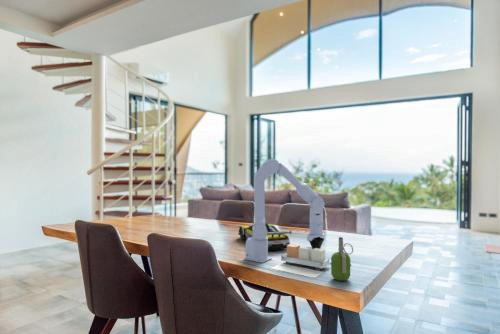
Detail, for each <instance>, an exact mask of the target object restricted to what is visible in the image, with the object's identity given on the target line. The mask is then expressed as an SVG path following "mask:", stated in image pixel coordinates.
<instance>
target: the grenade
mask: <svg viewBox="0 0 500 334" xmlns="http://www.w3.org/2000/svg"><path fill="white" fill-rule="evenodd" d="M346 245H349V246H350V247H351V252H350V253H348V252H347V251H346V249H345V246H346ZM353 253H354V247H353V246H352V244H351V243H349V242H347V243H344V237H341V236H339V237H338V251H337V252H336V251H335V252H334V253H333V254H332V255H331V258H330V260H331V261H330V262H329V265H331V266H330V267H331V268H330V270H331V271H330V274H331V277H332V278H333V279H335V280H336V281H339V282H345V281H347V280H349V279H350V277H351V267H352V264H351V258H350V255H351V254H353Z"/></svg>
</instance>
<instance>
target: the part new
mask: <svg viewBox="0 0 500 334" xmlns="http://www.w3.org/2000/svg"><path fill="white" fill-rule="evenodd" d="M300 247H301V245H298V244H291V243H290V244H289V245H288V246H287V249H286V254H287V256H289V257H294V258H299V248H300Z"/></svg>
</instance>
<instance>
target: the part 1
mask: <svg viewBox="0 0 500 334" xmlns="http://www.w3.org/2000/svg"><path fill="white" fill-rule="evenodd" d="M311 250H312V247H311V246H305V245H302V246H300V248H299V258H300V259H305V260H311Z"/></svg>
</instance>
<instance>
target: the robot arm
mask: <svg viewBox="0 0 500 334" xmlns="http://www.w3.org/2000/svg"><path fill="white" fill-rule="evenodd" d="M274 174H276V175H279V176H283V178H284V179H286V180H287V181H288V183H290V184H291V185H292V186H293V187H294V188H295V189H296V194H297V195H299V197H300V198H302V200H303V201H305V202H306V203H308V204H307V205H308V206H309V233H308V235H307V236H306V241H308V243H310V247H312V249H314V248H319V249H322V248H321V247H322V244H323V242H324V240H325V238H324V237H326V236H327V235H326V231H325V230H324V211H323V210H324V207H325V205H326V204H325V202H324V198H323V197H321V196H319V193H318V192H316V191H314V189H312V188H311V185H310V184H309V183H306V182H301V181H300V180H299V179H298V178H297V177H296V176H295V175H294V174H293V173H292V172H291V171H290V170H289V169H288V168H287V167H286V166H285V165H283V164H282V163H281V162H279V161H278V160H277V159H275V158H269V159H267V160H266V161H264V162H263V163H262V164H261V165H260V167H259V168H258V170H257V171H256V172H255V174H254V178H253V179H254V180H253V182H254V184H253V185H254V186H253V187H254V188H253V191H254V192H253V194H254V195H253V199H254V202H253V203H254V214H253V215H254V217H253V218H254V219H253V220H254V221H253V224H252V225H253V227H252V231H253V236H252V237H251V238H248V239H247V240H245V249H244V252H245V256H244V258H243V259H244V260H245V261H246V260H247V261H252V262H256V263H261V264H263V263H264V262H267V261H270V260H273V259H272V257H270V256H269V250H268V237H266V236H267V233H268V232H267V229H266V226H265V223H266V212H265V211H266V209H265V208H266V207H265V205H266V204H265V203H266V202H265V201H266V198H265V195H266V194H265V193H266V191H265V189H266V188H265V187H266V185H265V181H266V180H267V179H268V178H270V176H272V175H274Z"/></svg>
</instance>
